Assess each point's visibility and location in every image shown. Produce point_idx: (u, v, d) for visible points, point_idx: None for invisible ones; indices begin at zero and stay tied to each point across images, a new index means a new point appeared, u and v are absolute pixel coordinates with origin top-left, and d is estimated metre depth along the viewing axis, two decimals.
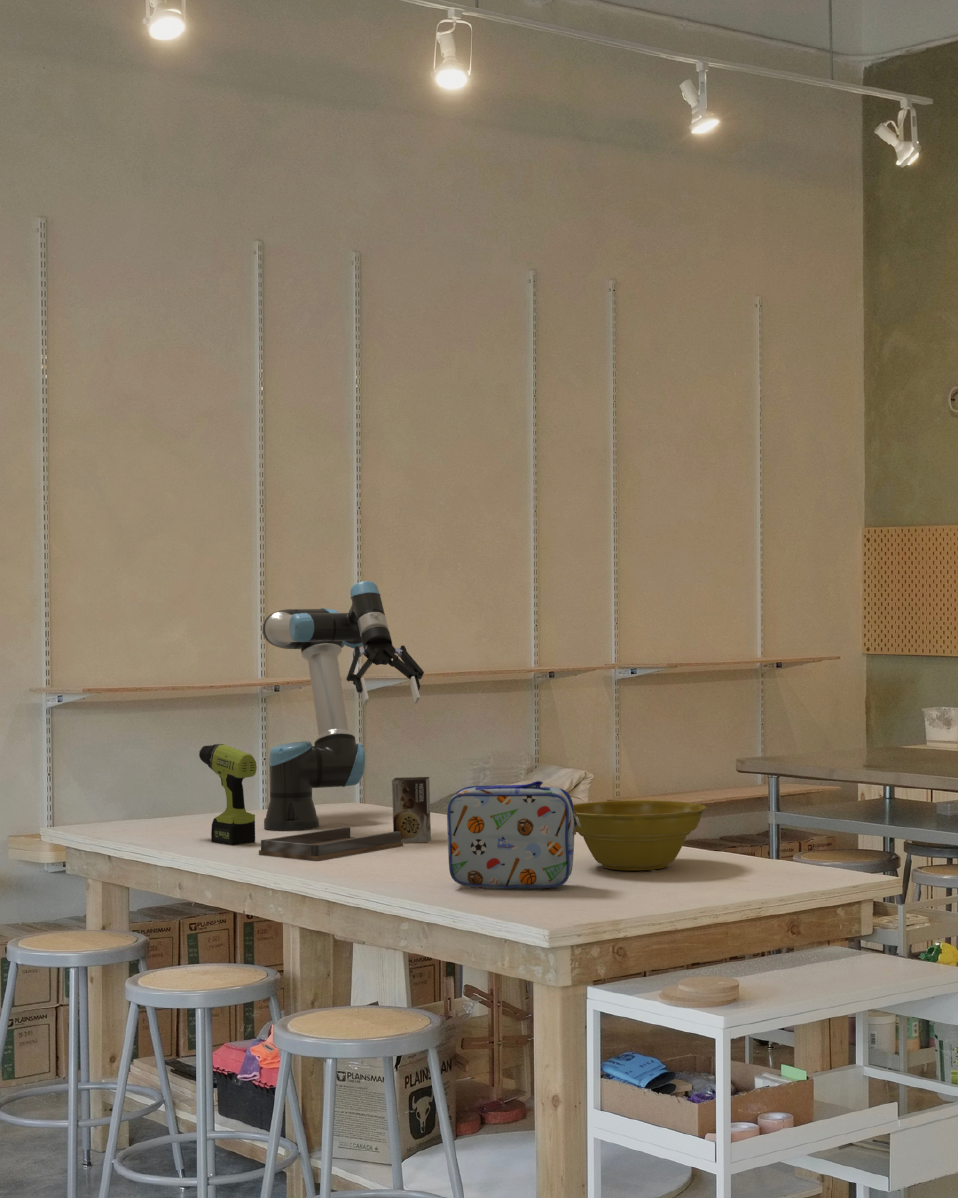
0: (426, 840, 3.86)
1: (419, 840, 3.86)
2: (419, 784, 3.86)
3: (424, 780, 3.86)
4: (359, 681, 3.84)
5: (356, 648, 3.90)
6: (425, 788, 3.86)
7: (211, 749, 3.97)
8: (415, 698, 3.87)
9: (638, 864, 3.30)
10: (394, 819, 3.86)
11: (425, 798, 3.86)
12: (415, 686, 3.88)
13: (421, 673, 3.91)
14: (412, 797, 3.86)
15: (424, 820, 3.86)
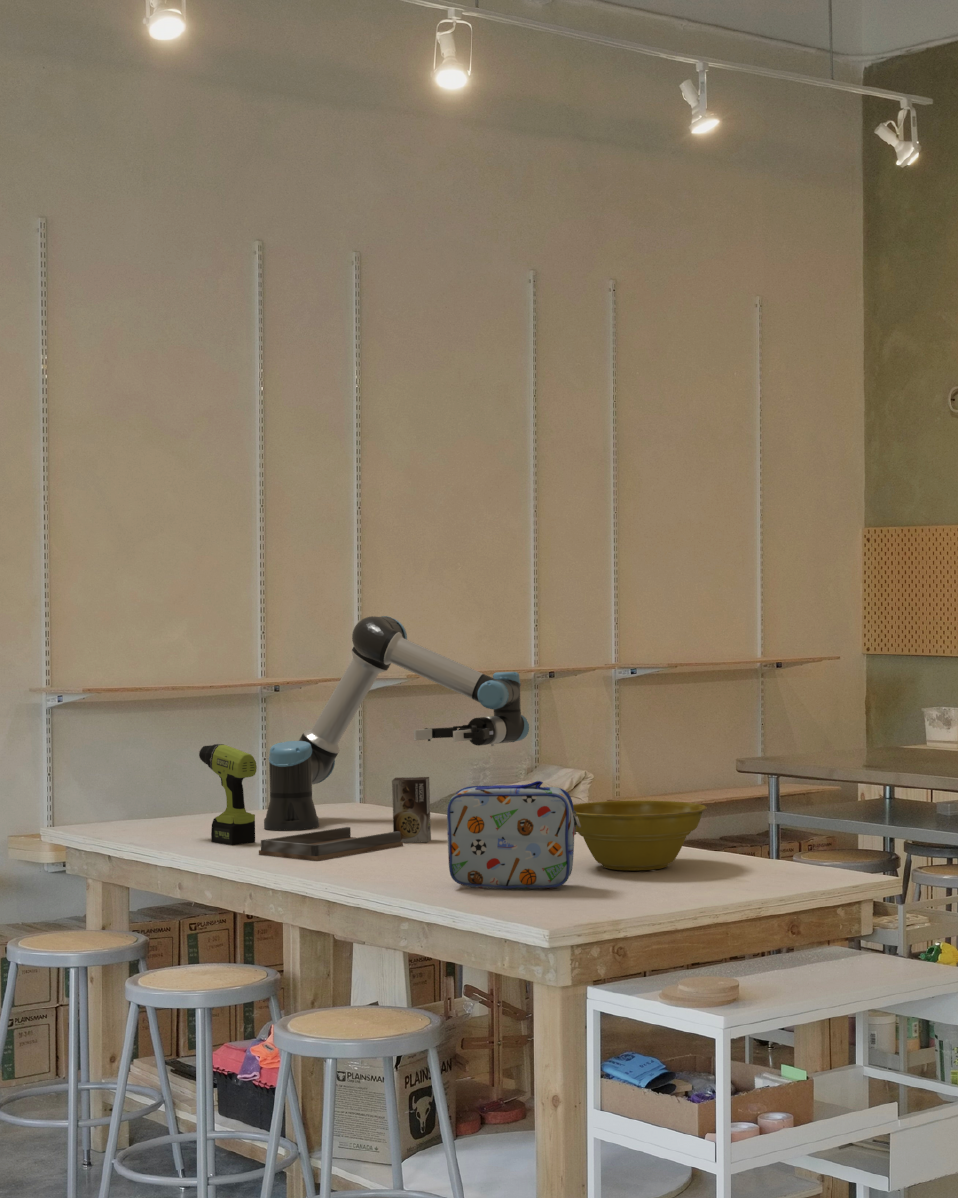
0: (426, 840, 3.86)
1: (419, 840, 3.86)
2: (419, 784, 3.86)
3: (424, 780, 3.86)
4: (470, 737, 3.97)
5: (491, 737, 4.05)
6: (425, 788, 3.86)
7: (211, 750, 3.97)
8: (417, 735, 4.02)
9: (638, 864, 3.30)
10: (394, 819, 3.86)
11: (425, 798, 3.86)
12: (423, 739, 4.04)
13: None
14: (412, 797, 3.86)
15: (424, 820, 3.86)
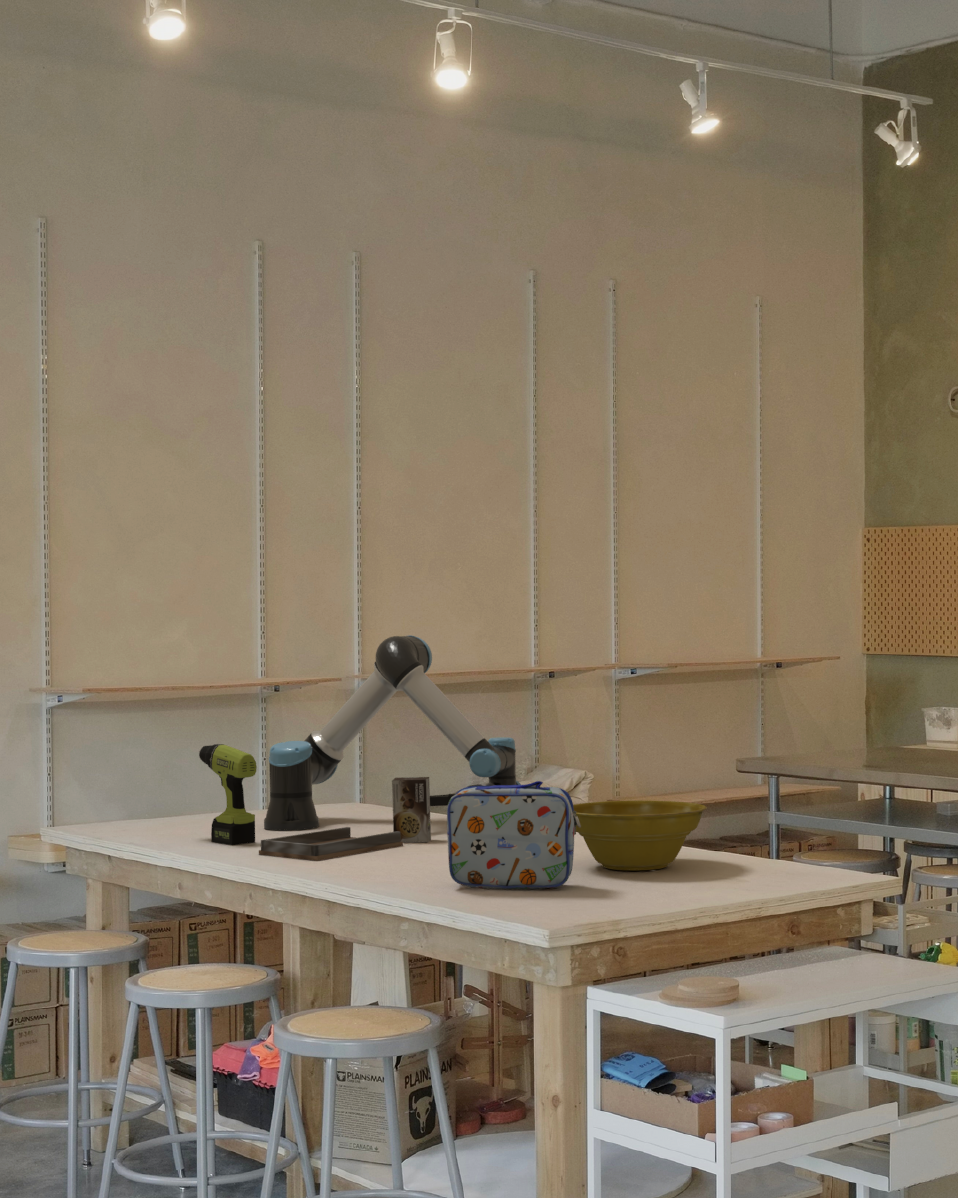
0: (426, 840, 3.86)
1: (419, 840, 3.86)
2: (419, 784, 3.86)
3: (424, 780, 3.86)
4: None
5: None
6: (425, 788, 3.86)
7: (211, 750, 3.97)
8: None
9: (638, 864, 3.30)
10: (394, 819, 3.86)
11: (425, 798, 3.86)
12: None
13: None
14: (412, 797, 3.86)
15: (424, 820, 3.86)
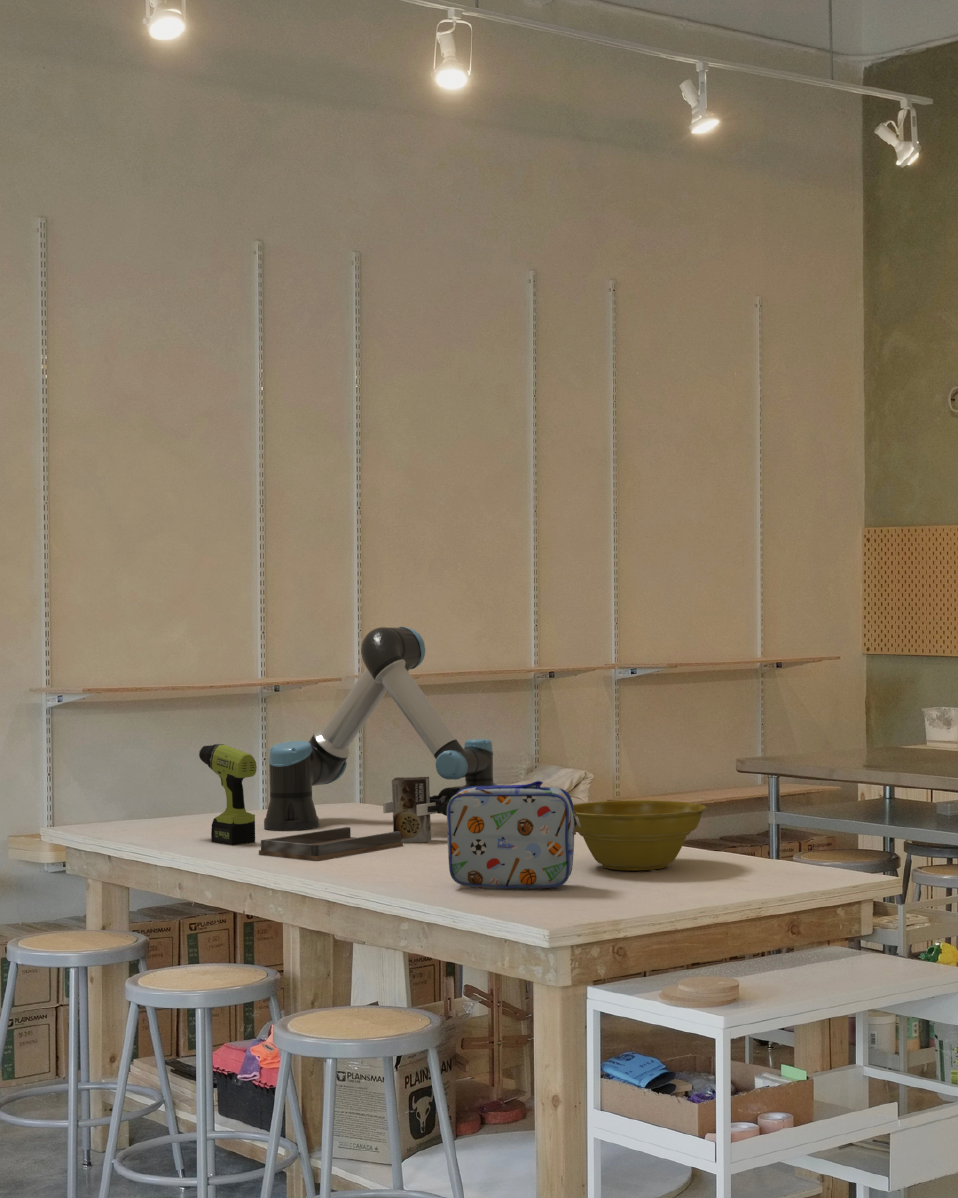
0: (426, 840, 3.86)
1: (419, 840, 3.86)
2: (419, 784, 3.86)
3: (424, 780, 3.86)
4: None
5: None
6: (425, 788, 3.86)
7: (211, 750, 3.97)
8: (386, 808, 3.90)
9: (638, 864, 3.30)
10: (394, 819, 3.86)
11: (425, 798, 3.86)
12: None
13: None
14: (412, 797, 3.86)
15: (424, 820, 3.86)
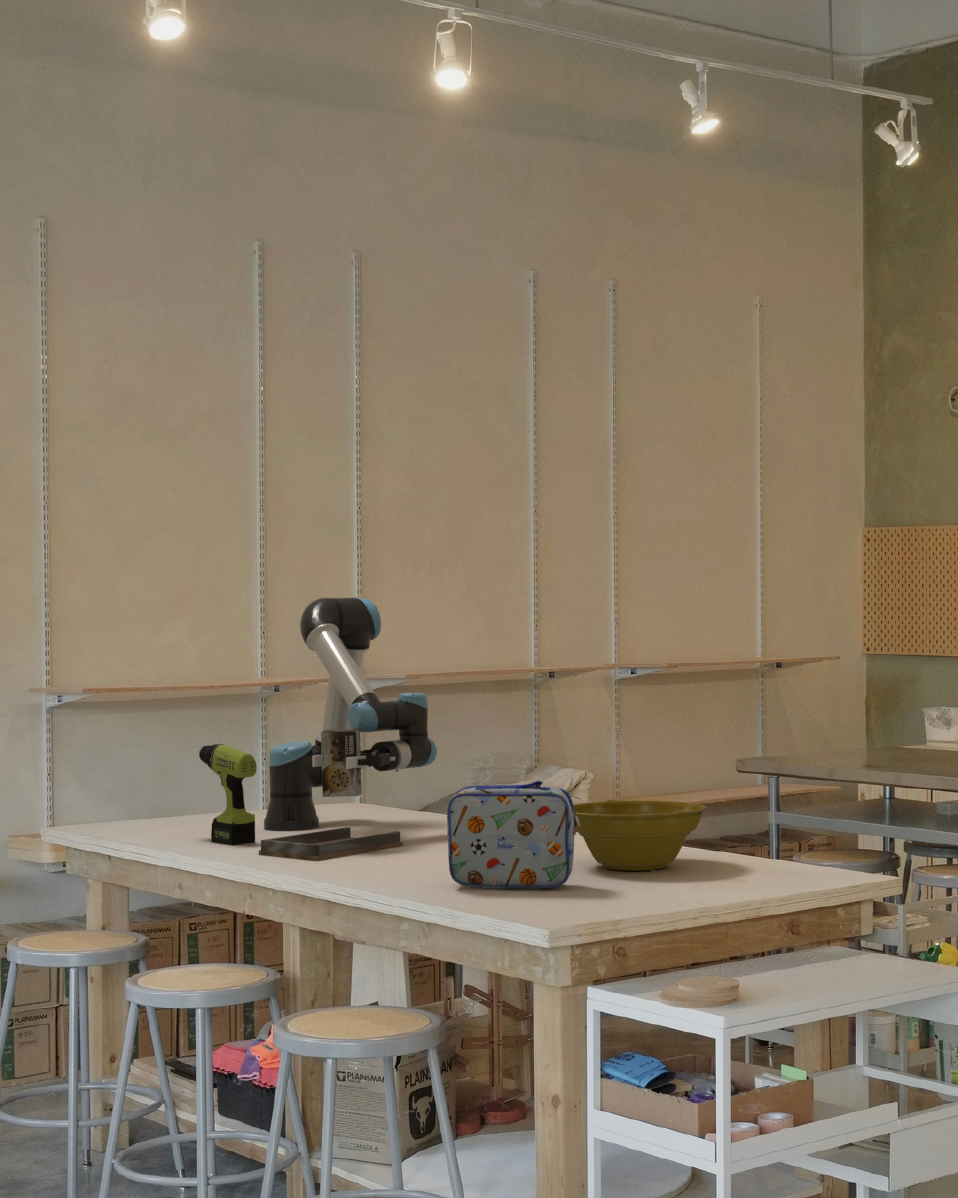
0: (356, 794, 3.73)
1: (349, 794, 3.73)
2: (349, 736, 3.74)
3: (354, 732, 3.74)
4: (365, 764, 3.74)
5: (393, 763, 3.82)
6: (355, 740, 3.74)
7: (211, 750, 3.97)
8: (316, 761, 3.77)
9: (638, 864, 3.30)
10: (323, 772, 3.74)
11: (355, 751, 3.73)
12: None
13: None
14: (341, 749, 3.74)
15: (354, 773, 3.73)
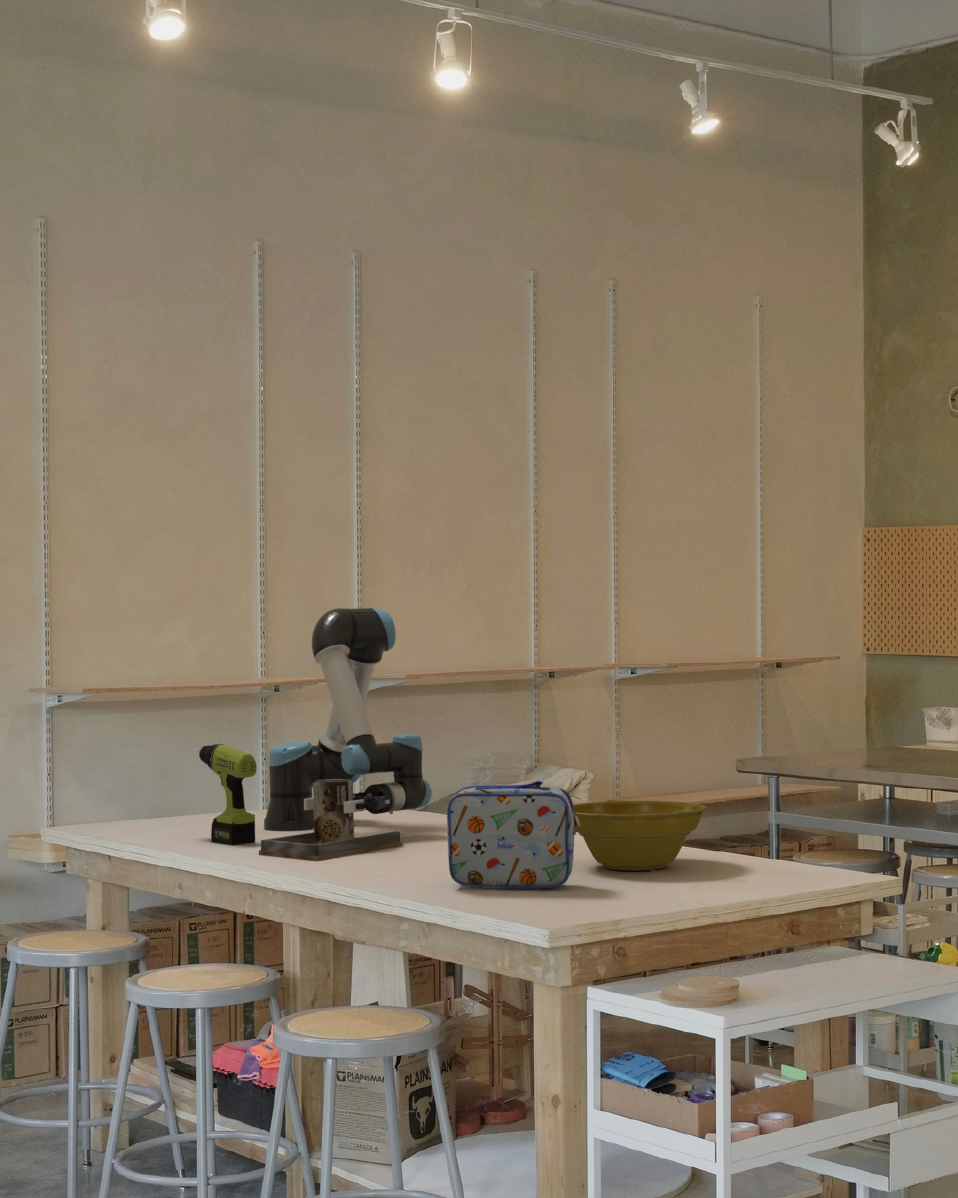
0: None
1: None
2: (341, 786, 3.73)
3: (346, 782, 3.73)
4: (363, 808, 3.73)
5: (387, 806, 3.82)
6: (347, 790, 3.73)
7: (211, 750, 3.97)
8: (307, 804, 3.78)
9: (638, 864, 3.30)
10: (315, 823, 3.73)
11: None
12: None
13: None
14: (333, 800, 3.73)
15: (346, 824, 3.72)
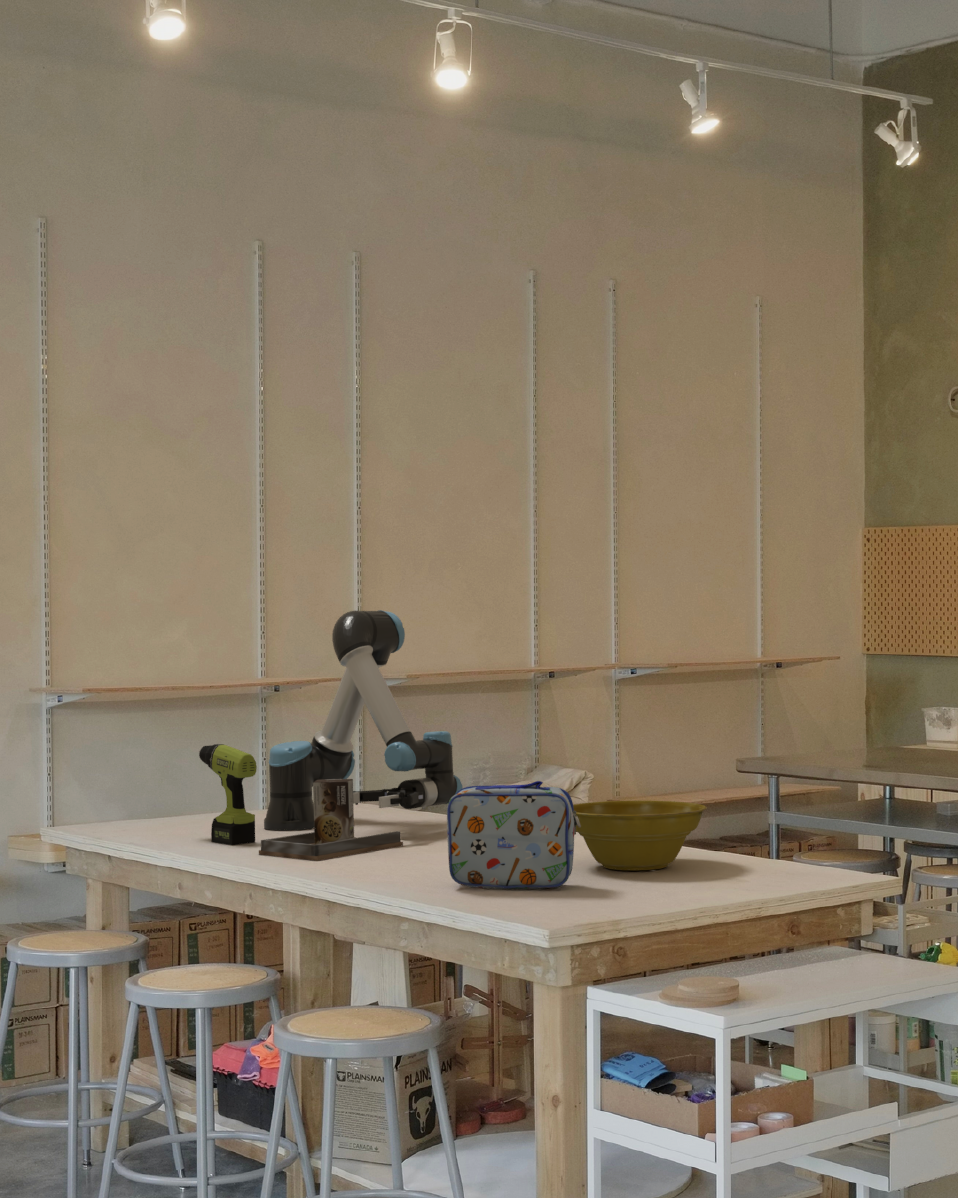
0: None
1: None
2: (341, 786, 3.73)
3: (346, 782, 3.73)
4: (398, 803, 3.83)
5: (420, 801, 3.91)
6: (347, 790, 3.73)
7: (211, 750, 3.97)
8: None
9: (638, 864, 3.30)
10: (315, 823, 3.73)
11: (347, 801, 3.73)
12: None
13: None
14: (333, 800, 3.73)
15: (346, 824, 3.72)
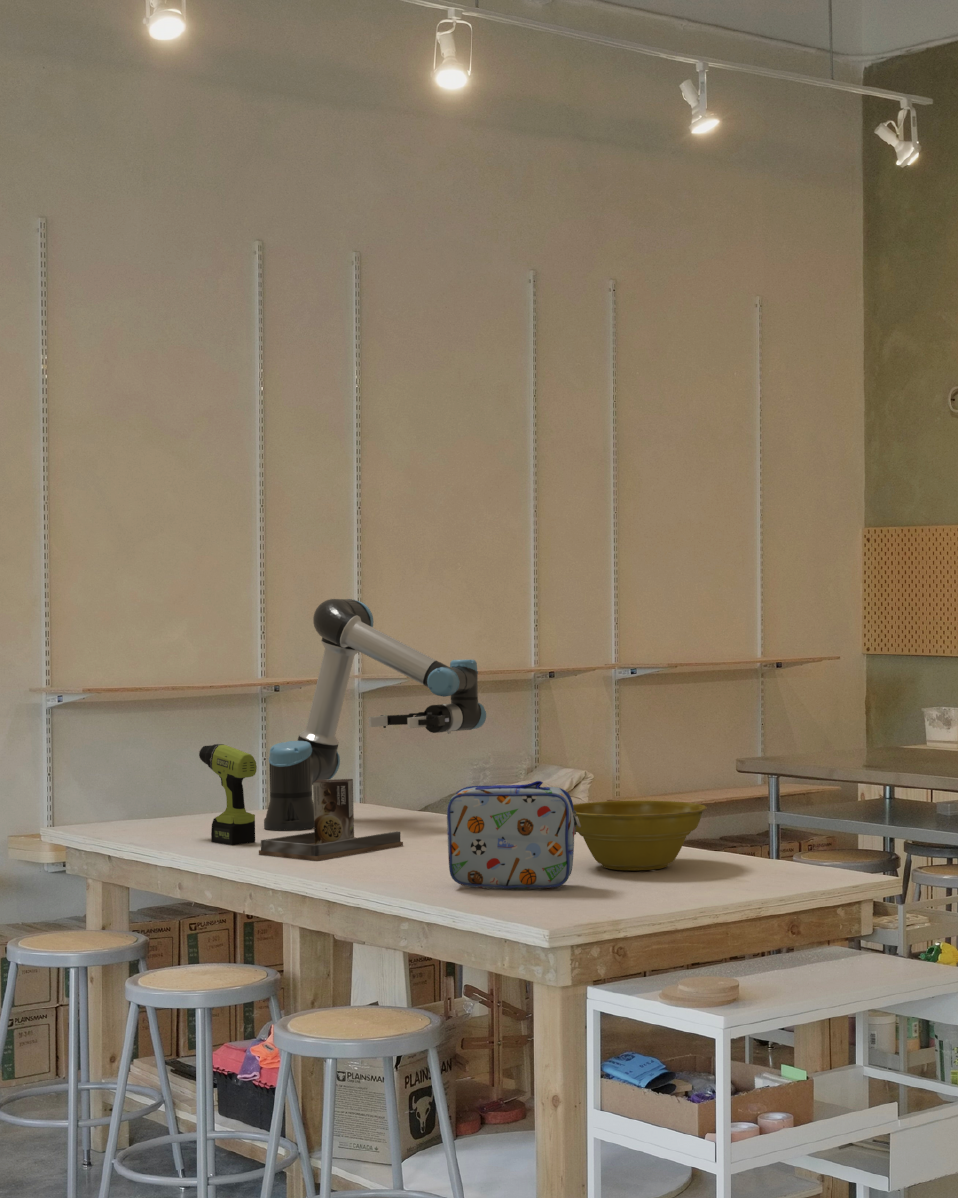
0: None
1: None
2: (341, 786, 3.73)
3: (346, 782, 3.73)
4: (425, 724, 3.95)
5: (447, 724, 4.04)
6: (347, 790, 3.73)
7: (211, 750, 3.97)
8: (372, 722, 4.00)
9: (638, 864, 3.30)
10: (315, 823, 3.73)
11: (347, 801, 3.73)
12: (378, 726, 4.02)
13: None
14: (333, 800, 3.73)
15: (346, 824, 3.72)
